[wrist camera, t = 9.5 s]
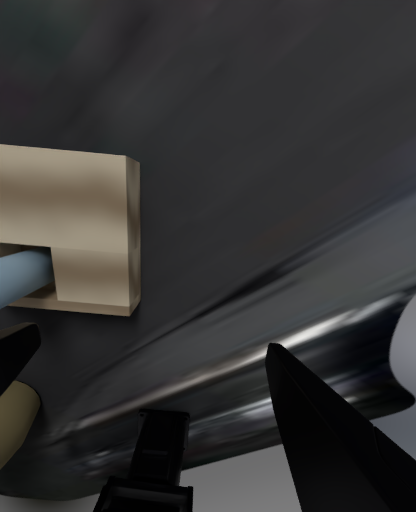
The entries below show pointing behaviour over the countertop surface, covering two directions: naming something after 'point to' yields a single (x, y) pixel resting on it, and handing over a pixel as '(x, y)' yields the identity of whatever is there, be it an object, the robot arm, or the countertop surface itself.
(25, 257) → the peg
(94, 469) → the countertop surface
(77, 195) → the board
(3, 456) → the squeeze bottle
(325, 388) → the robot arm
